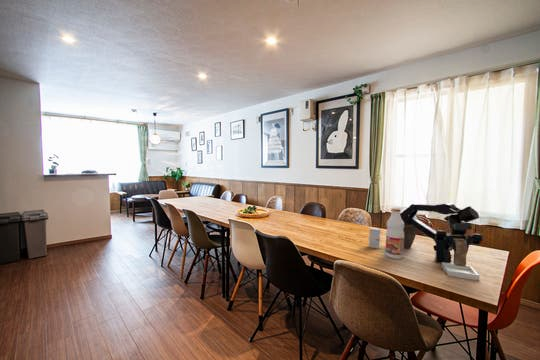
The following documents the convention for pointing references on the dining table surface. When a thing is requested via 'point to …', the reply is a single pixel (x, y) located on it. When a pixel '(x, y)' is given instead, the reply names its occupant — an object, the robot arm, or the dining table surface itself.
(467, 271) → the tray
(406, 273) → the dining table surface
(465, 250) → the walnut block
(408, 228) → the plant pot
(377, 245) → the skincare box
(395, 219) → the fruit juice
